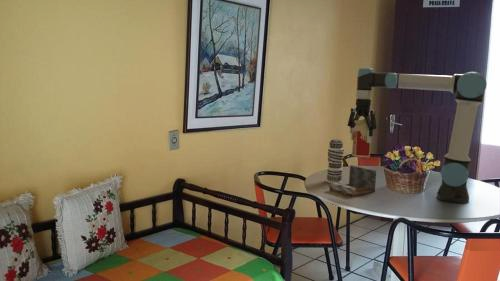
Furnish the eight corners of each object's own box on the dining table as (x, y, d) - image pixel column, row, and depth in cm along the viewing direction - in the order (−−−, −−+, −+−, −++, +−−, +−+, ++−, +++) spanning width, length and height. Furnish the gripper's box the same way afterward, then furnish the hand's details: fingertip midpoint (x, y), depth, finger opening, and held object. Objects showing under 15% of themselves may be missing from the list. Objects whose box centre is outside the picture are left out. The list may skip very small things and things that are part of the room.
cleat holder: (374, 191, 234) (376, 170, 232) (352, 197, 222) (354, 174, 220) (351, 185, 246) (352, 165, 244) (328, 190, 234) (330, 168, 233)
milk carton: (367, 154, 232) (369, 117, 229) (370, 157, 223) (373, 119, 220) (350, 153, 233) (352, 116, 230) (352, 156, 224) (355, 118, 221)
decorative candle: (342, 184, 250) (344, 141, 246) (326, 182, 252) (328, 140, 248) (342, 180, 259) (344, 139, 255) (326, 179, 260) (328, 138, 257)
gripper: (386, 99, 218) (382, 143, 221) (350, 97, 235) (348, 138, 238) (377, 99, 213) (374, 144, 216) (342, 97, 230) (339, 139, 233)
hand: (360, 141), depth 227 cm, fingers closed on milk carton, 9 cm apart
